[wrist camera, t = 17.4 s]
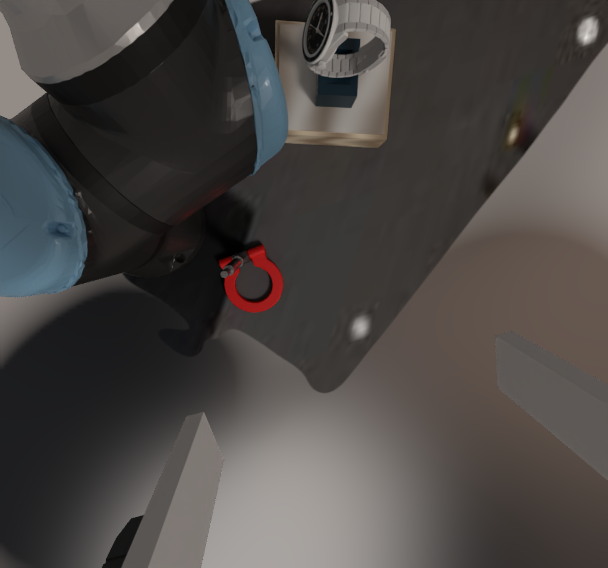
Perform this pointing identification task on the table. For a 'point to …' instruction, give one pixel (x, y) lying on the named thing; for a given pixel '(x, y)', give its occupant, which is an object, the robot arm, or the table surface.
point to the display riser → (332, 120)
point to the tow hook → (259, 260)
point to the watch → (343, 46)
